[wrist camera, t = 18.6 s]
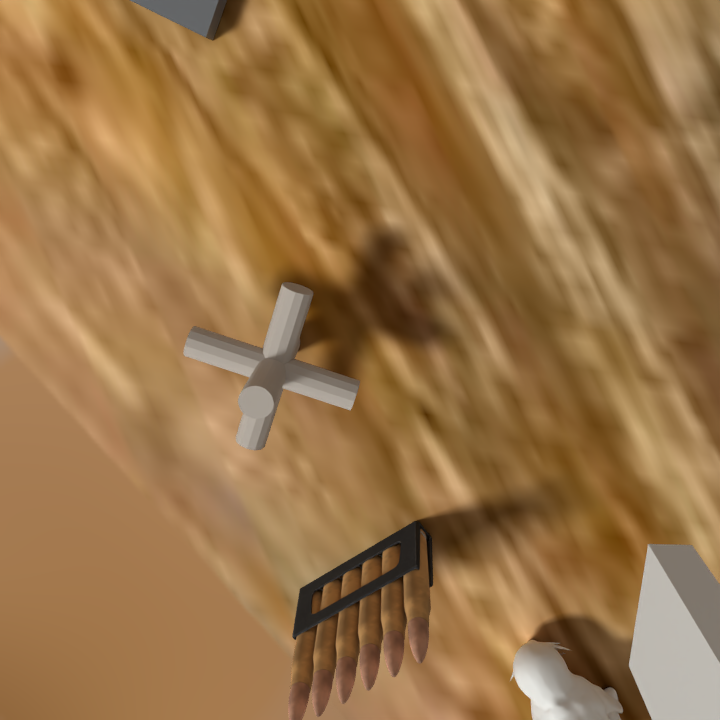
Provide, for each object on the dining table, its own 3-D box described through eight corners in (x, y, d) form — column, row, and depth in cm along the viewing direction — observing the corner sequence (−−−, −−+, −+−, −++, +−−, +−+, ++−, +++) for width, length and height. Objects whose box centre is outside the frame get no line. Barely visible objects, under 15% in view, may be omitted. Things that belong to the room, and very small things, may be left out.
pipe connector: (232, 243, 41) (183, 279, 32) (384, 295, 42) (381, 345, 33) (194, 385, 45) (140, 455, 35) (335, 431, 45) (319, 512, 36)
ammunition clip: (417, 519, 47) (424, 643, 36) (432, 537, 48) (443, 666, 37) (299, 589, 50) (270, 725, 39) (314, 606, 50) (290, 745, 39)
